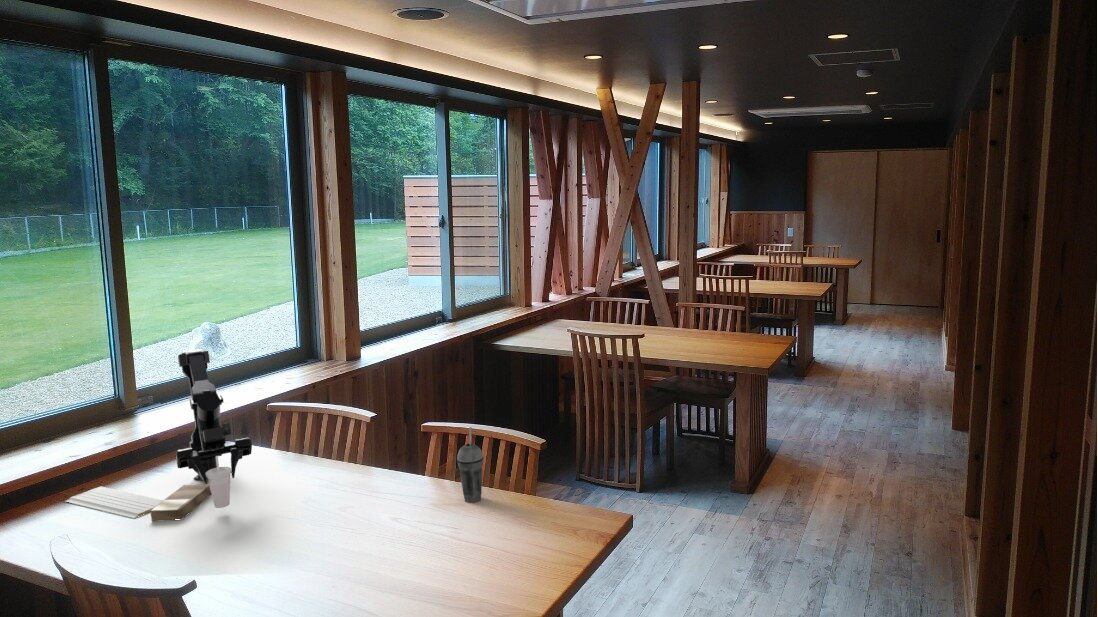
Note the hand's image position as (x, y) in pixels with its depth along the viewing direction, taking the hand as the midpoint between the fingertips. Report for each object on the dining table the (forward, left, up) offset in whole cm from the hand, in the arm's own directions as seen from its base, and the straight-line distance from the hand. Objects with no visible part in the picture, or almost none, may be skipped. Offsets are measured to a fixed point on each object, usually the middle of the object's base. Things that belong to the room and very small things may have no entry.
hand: (219, 480), depth 206 cm
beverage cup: (-5, +66, -10) cm, 67 cm away
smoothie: (-1, -1, -8) cm, 8 cm away
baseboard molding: (-11, -37, -11) cm, 40 cm away
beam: (-7, -15, -10) cm, 19 cm away
